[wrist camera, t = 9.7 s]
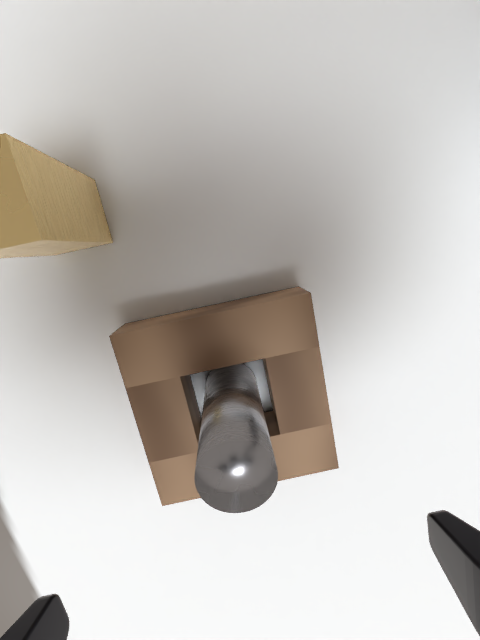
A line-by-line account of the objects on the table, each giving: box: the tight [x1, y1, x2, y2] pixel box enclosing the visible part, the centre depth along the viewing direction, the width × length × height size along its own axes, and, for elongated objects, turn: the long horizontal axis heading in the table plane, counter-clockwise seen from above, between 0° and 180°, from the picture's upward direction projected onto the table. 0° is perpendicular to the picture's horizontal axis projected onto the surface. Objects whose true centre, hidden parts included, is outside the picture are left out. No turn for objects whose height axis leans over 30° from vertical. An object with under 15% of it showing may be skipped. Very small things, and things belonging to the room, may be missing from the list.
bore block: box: [109, 287, 339, 506], centre depth 18 cm, size 10×10×3 cm
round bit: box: [194, 363, 278, 513], centre depth 16 cm, size 3×3×8 cm
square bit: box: [0, 133, 113, 258], centre depth 14 cm, size 3×3×7 cm
